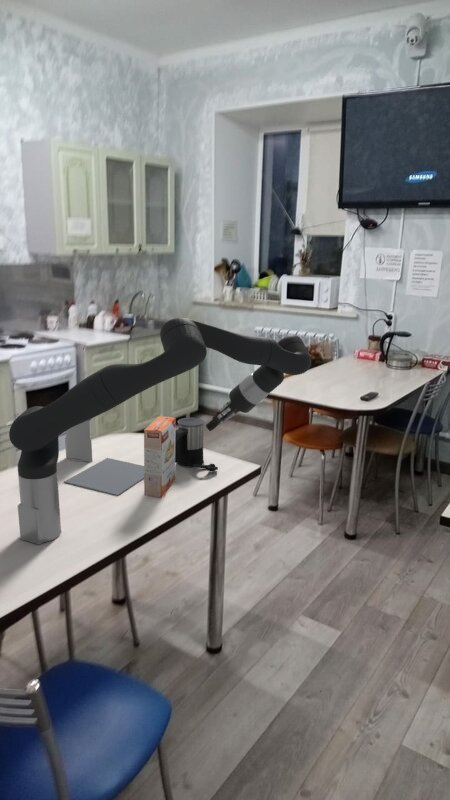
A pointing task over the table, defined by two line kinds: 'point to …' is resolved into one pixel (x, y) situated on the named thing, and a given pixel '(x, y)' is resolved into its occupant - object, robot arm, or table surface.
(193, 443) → the milk frother
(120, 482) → the mat
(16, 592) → the table surface
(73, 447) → the tall pale column
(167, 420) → the cracker box
